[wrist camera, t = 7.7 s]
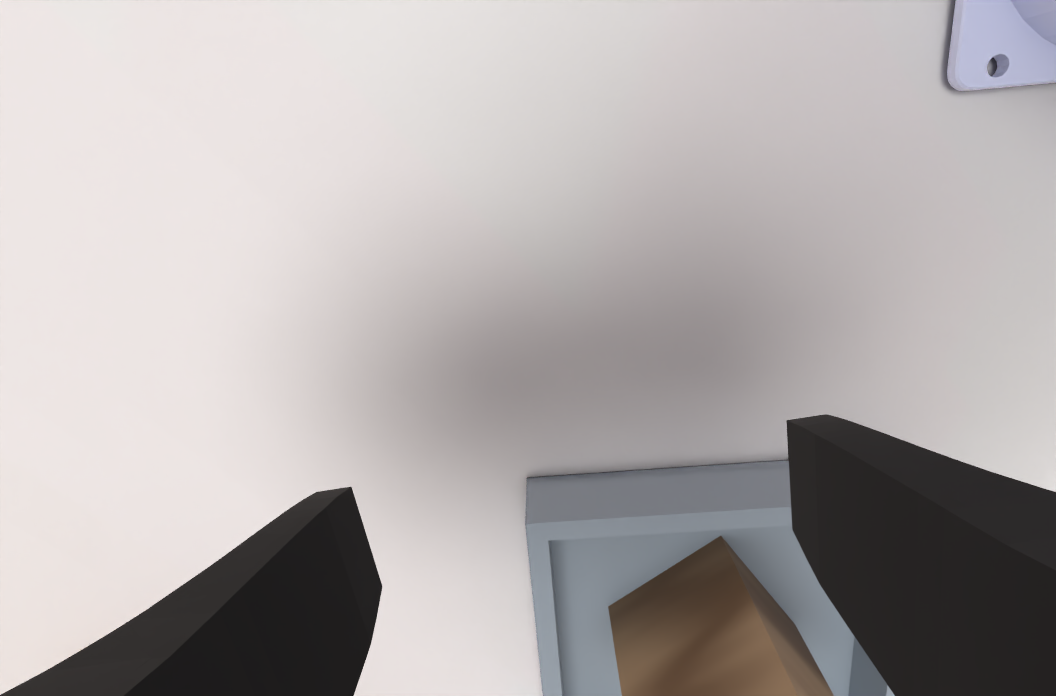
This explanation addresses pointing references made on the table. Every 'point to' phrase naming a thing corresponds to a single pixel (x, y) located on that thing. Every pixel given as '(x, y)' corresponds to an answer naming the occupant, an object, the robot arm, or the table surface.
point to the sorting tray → (668, 563)
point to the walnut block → (710, 634)
